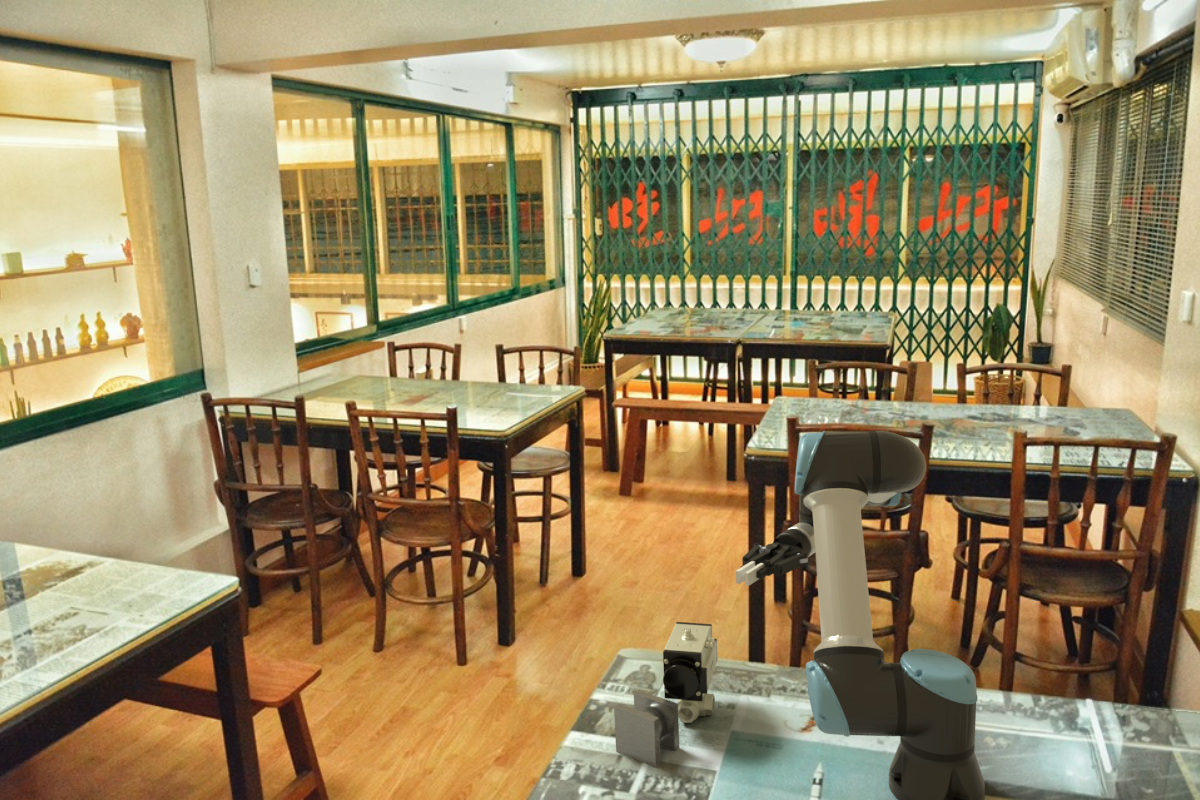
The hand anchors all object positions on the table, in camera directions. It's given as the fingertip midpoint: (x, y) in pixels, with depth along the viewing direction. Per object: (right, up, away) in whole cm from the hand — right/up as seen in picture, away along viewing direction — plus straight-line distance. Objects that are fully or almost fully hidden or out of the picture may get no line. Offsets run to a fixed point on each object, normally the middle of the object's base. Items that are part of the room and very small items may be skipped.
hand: (742, 578), depth 188 cm
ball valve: (-10, -26, -5) cm, 28 cm away
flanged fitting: (-20, -29, -16) cm, 39 cm away
